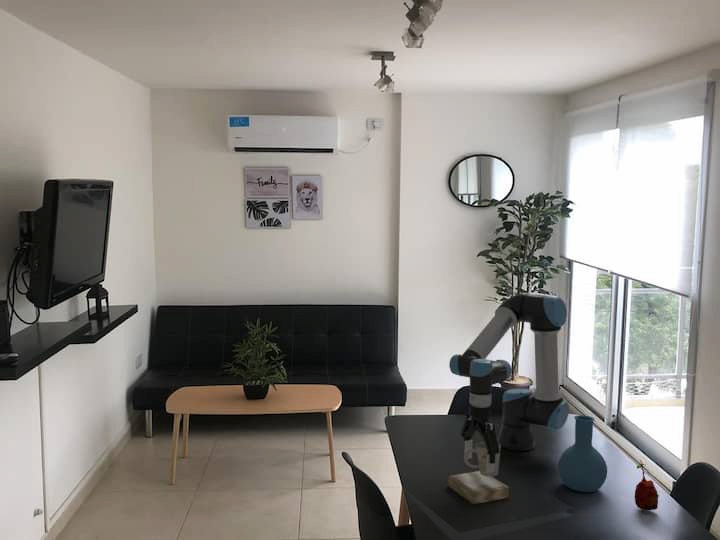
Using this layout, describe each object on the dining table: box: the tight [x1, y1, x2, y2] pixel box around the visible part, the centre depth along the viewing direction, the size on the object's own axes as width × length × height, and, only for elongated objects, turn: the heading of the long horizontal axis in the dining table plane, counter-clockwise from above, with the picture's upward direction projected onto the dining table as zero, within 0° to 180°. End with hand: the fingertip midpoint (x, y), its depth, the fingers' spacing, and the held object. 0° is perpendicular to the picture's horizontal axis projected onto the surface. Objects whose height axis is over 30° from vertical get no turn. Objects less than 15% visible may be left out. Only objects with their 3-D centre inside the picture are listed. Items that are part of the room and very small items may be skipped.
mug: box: [463, 440, 502, 477], centre depth 223 cm, size 8×13×10 cm, turn 79°
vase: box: [557, 414, 608, 493], centre depth 230 cm, size 16×16×25 cm
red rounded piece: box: [634, 460, 660, 511], centre depth 215 cm, size 8×7×15 cm
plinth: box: [448, 470, 510, 505], centre depth 226 cm, size 14×16×4 cm
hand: (479, 465), depth 225 cm, fingers open, 13 cm apart
